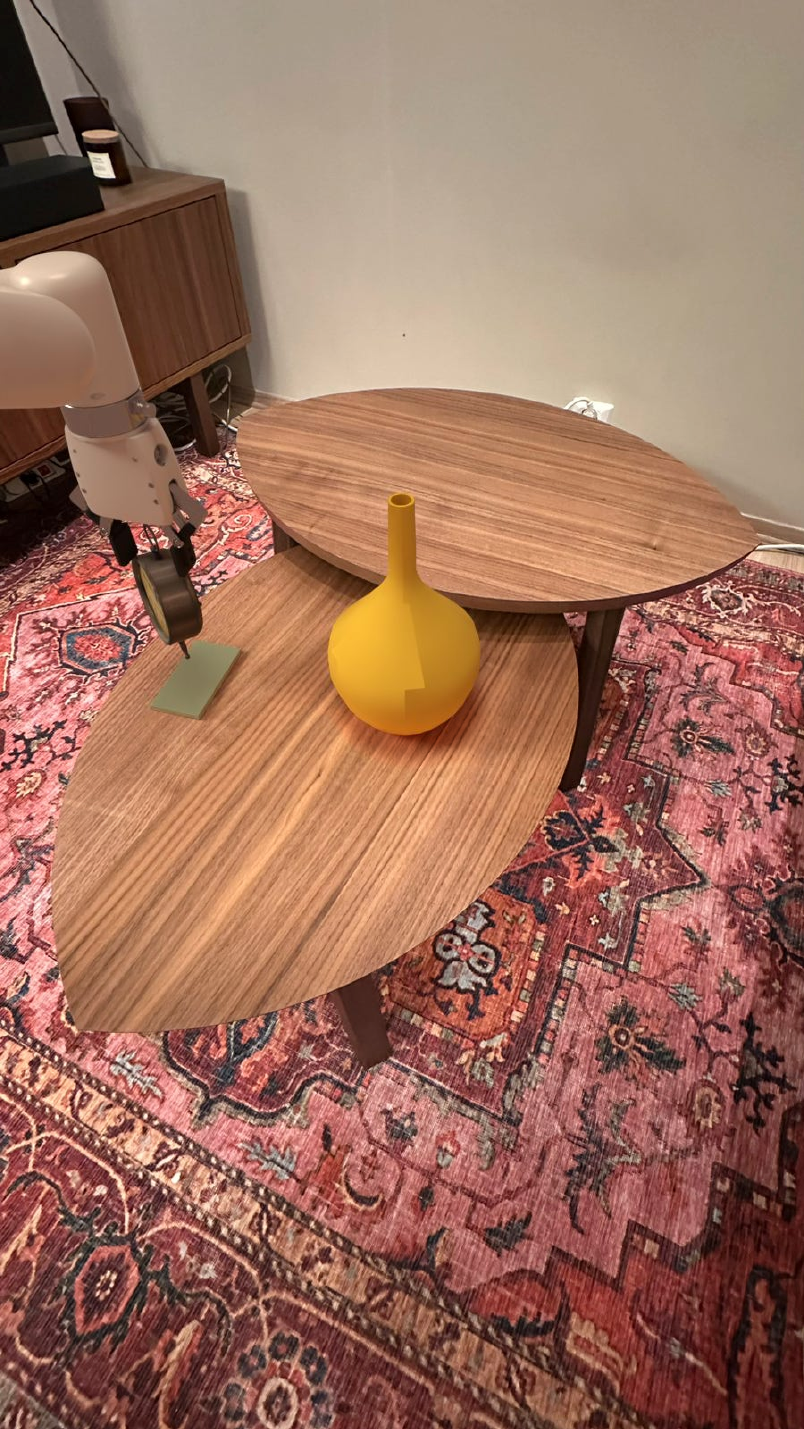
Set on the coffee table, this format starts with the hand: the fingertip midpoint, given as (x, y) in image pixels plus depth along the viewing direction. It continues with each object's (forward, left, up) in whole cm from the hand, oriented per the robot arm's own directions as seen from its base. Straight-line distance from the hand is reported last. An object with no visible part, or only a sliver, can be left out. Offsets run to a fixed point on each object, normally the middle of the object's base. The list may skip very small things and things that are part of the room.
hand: (158, 563), depth 78 cm
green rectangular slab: (0, 0, -19) cm, 19 cm away
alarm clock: (0, 0, -11) cm, 11 cm away
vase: (+24, -15, -19) cm, 34 cm away
